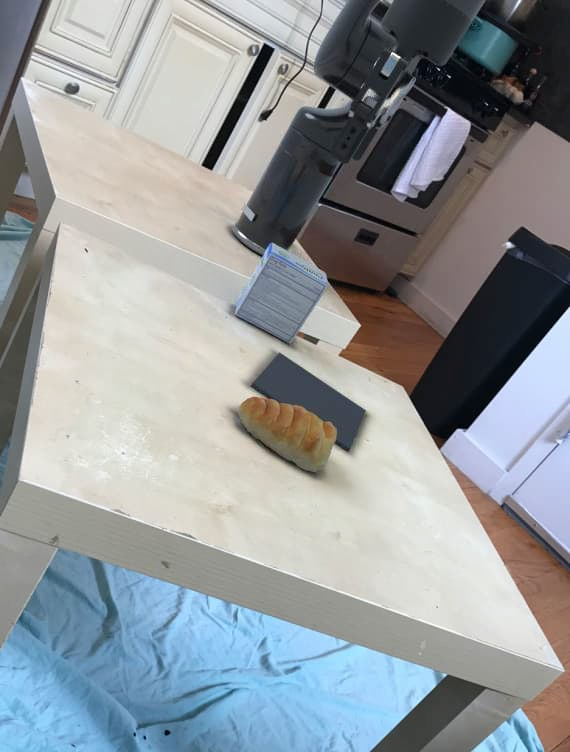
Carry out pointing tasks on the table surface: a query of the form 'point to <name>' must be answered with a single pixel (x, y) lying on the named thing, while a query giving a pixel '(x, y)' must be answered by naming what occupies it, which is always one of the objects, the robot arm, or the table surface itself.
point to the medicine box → (281, 293)
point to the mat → (310, 397)
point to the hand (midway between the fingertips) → (344, 158)
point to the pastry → (289, 431)
